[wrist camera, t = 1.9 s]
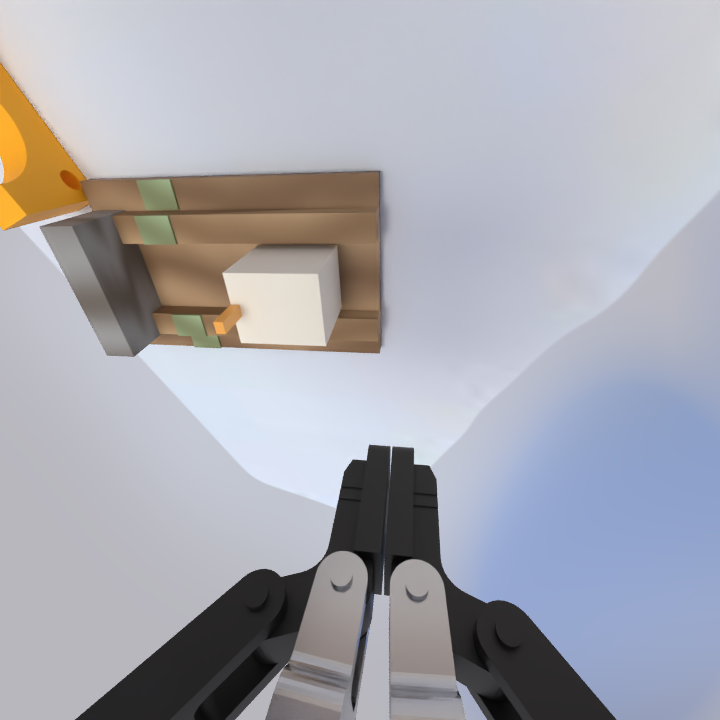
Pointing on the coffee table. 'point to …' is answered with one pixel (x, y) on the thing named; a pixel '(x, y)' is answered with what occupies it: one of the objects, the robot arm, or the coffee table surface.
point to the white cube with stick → (283, 295)
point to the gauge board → (214, 253)
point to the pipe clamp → (33, 164)
